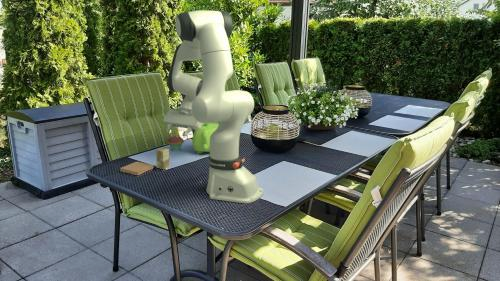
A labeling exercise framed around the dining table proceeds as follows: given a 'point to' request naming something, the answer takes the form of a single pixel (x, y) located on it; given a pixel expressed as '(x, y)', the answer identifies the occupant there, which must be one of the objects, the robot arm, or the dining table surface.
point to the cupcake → (175, 142)
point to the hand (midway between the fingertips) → (176, 134)
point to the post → (162, 158)
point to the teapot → (203, 137)
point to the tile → (137, 168)
